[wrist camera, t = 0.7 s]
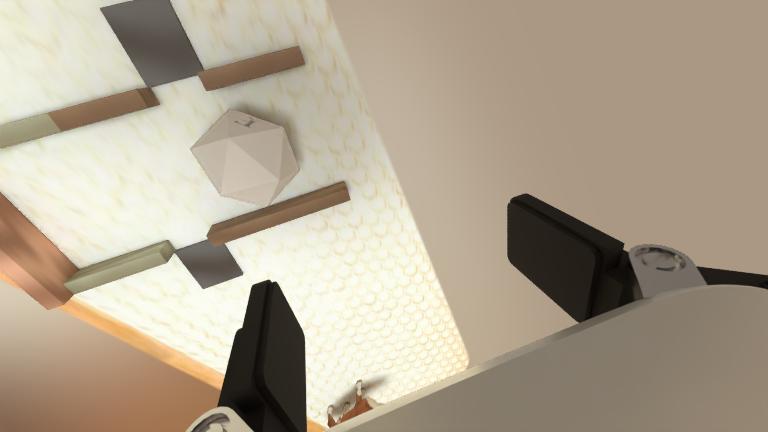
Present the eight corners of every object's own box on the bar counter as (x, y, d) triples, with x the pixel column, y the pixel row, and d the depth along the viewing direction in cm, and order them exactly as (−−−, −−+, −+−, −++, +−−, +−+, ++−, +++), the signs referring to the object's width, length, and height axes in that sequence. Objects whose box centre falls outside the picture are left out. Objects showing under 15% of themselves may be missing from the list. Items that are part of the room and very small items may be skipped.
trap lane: (-156, 69, 21) (-245, 68, 17) (272, -31, 25) (268, -48, 21) (112, 319, 35) (92, 346, 31) (360, 231, 38) (367, 246, 35)
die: (313, 154, 33) (297, 109, 24) (285, 223, 31) (255, 204, 22) (246, 130, 33) (202, 75, 23) (213, 198, 31) (152, 169, 22)
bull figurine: (387, 376, 54) (401, 421, 47) (334, 416, 55) (340, 467, 48) (373, 367, 52) (385, 413, 45) (318, 410, 53) (322, 461, 46)
